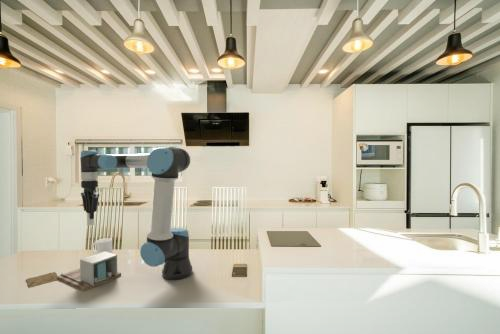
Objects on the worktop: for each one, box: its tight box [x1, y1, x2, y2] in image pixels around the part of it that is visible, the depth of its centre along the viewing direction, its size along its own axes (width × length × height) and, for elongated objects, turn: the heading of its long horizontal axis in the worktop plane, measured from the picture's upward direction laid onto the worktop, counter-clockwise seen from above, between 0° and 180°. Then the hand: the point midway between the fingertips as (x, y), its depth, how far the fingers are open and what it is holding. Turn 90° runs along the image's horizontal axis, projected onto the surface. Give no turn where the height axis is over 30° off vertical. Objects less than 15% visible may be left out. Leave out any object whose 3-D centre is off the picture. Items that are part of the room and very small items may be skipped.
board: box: [57, 268, 122, 292], centre depth 133 cm, size 24×18×3 cm
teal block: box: [94, 261, 106, 281], centre depth 129 cm, size 4×4×8 cm
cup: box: [91, 237, 113, 255], centre depth 160 cm, size 8×12×10 cm
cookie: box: [25, 271, 60, 289], centre depth 130 cm, size 12×12×1 cm
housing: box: [79, 251, 118, 286], centre depth 129 cm, size 10×12×10 cm
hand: (90, 224), depth 140 cm, fingers closed
